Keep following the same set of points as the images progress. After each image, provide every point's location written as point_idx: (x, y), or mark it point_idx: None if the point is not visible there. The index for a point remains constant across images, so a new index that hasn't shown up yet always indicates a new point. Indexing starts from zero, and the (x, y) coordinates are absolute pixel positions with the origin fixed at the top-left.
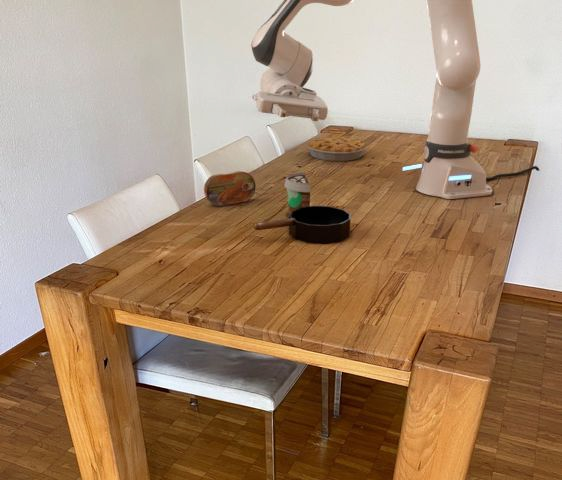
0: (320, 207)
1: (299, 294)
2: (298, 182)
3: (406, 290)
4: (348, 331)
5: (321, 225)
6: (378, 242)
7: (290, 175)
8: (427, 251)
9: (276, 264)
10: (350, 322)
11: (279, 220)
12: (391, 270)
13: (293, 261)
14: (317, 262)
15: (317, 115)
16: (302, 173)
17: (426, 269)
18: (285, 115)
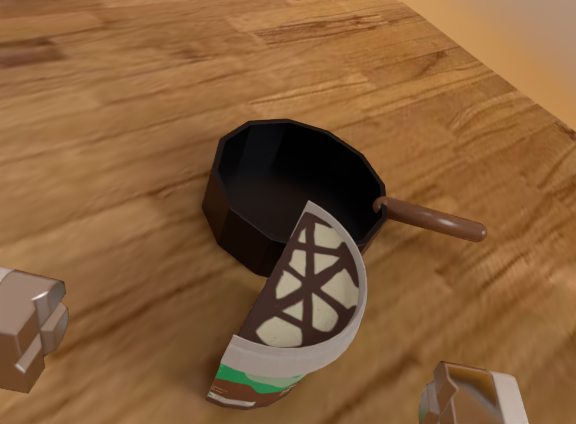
0: (258, 225)
1: (436, 88)
2: (319, 271)
3: (292, 18)
4: (411, 25)
5: (337, 137)
6: (197, 108)
7: (322, 342)
8: (145, 40)
9: (443, 161)
10: (401, 30)
11: (424, 208)
12: (268, 48)
13: (409, 152)
14: (369, 126)
15: (15, 270)
16: (247, 343)
17: (213, 21)
18: (429, 385)
